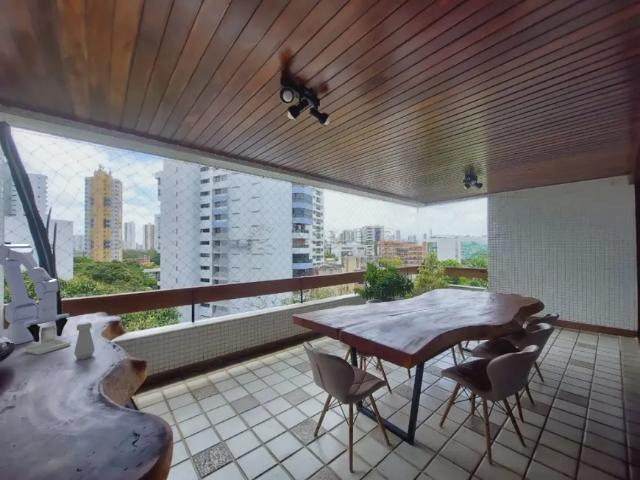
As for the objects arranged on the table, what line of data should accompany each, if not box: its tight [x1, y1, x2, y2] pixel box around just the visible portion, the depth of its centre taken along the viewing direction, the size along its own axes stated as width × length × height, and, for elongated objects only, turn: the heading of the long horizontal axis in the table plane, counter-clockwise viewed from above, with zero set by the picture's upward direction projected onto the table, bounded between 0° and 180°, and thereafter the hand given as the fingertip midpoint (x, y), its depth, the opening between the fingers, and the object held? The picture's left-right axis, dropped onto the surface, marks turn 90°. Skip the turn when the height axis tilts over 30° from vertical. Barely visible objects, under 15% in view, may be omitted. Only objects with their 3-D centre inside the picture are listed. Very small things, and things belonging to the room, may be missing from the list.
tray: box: [24, 339, 71, 356], centre depth 114 cm, size 10×10×2 cm
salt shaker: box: [73, 321, 95, 361], centre depth 103 cm, size 6×6×13 cm
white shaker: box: [40, 325, 56, 344], centre depth 121 cm, size 4×4×7 cm
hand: (48, 338), depth 121 cm, fingers open, 7 cm apart
